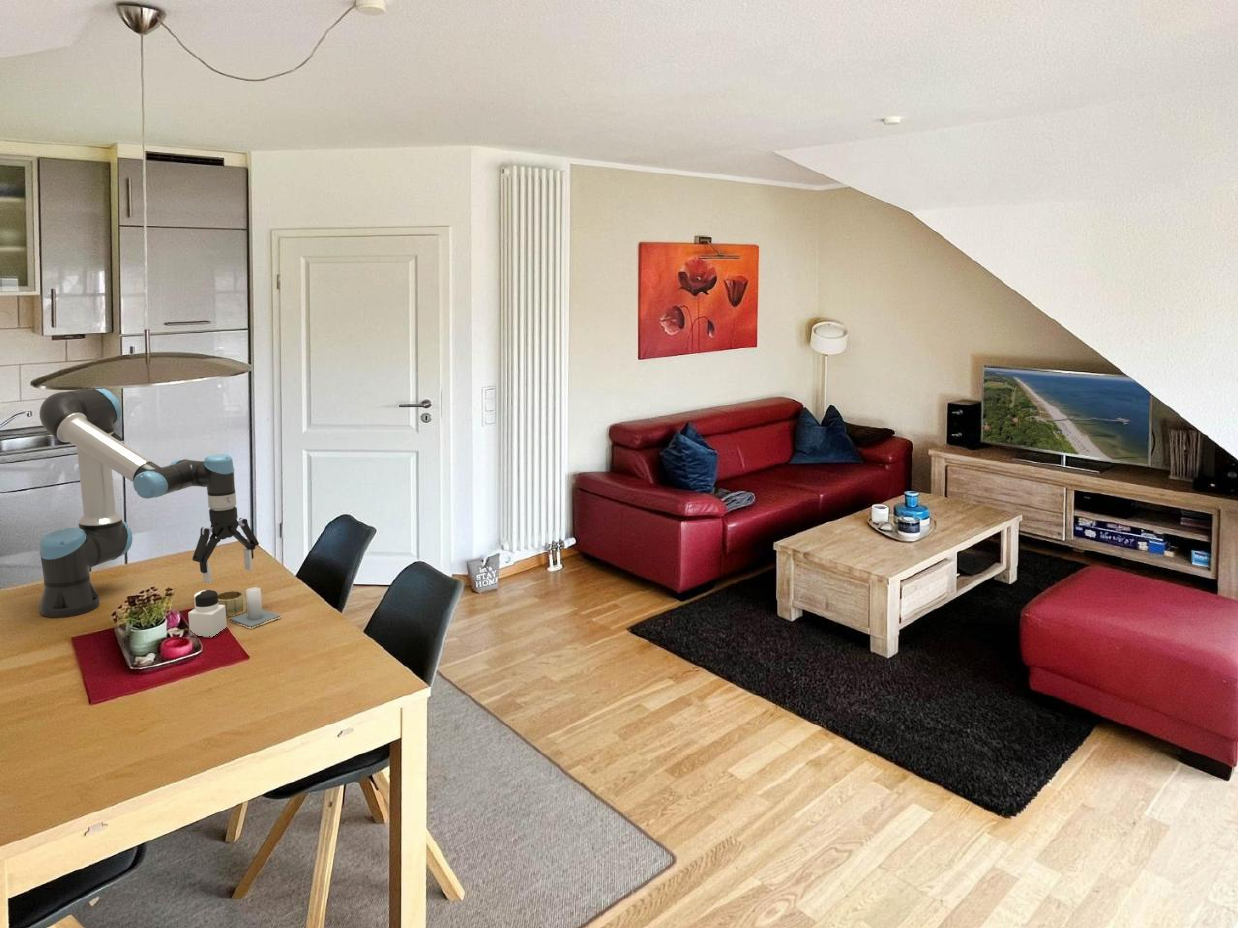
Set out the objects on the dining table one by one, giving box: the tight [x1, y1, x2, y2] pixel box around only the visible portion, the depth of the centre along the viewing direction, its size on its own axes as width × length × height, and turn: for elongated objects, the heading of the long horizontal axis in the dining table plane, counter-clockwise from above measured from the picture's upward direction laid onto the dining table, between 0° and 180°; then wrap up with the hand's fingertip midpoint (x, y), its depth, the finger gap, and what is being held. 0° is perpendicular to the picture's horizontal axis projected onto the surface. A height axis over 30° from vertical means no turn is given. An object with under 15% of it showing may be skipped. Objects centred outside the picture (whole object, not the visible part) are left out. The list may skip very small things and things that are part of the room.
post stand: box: [229, 586, 282, 628], centre depth 257 cm, size 10×10×10 cm
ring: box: [217, 589, 247, 618], centre depth 264 cm, size 9×9×5 cm
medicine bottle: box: [187, 589, 228, 638], centre depth 248 cm, size 7×7×12 cm
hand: (228, 576), depth 262 cm, fingers open, 13 cm apart
